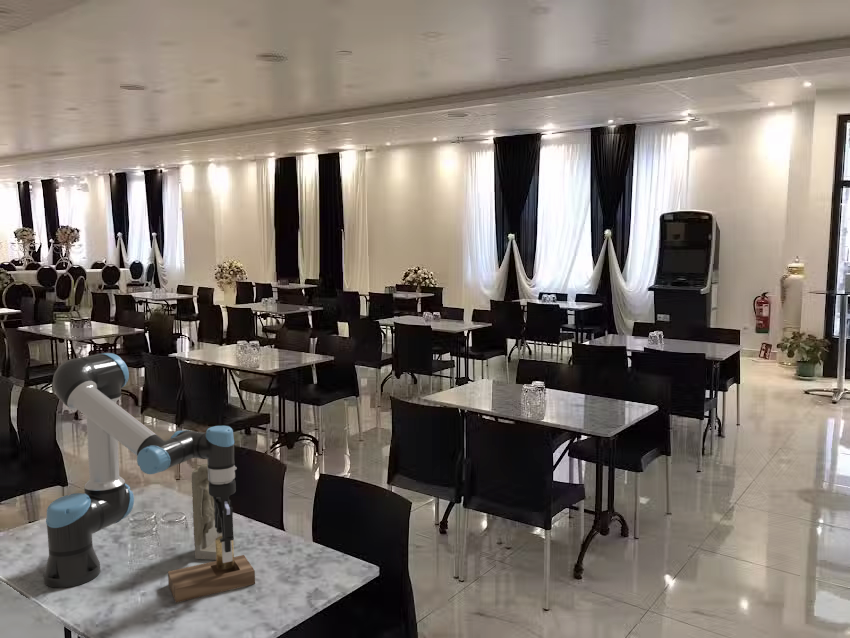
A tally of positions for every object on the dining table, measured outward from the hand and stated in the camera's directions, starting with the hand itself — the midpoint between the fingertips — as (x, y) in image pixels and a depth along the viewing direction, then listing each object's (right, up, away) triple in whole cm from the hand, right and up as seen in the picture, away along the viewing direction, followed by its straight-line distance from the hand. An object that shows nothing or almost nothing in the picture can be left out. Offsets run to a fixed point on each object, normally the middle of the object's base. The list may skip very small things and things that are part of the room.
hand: (225, 557), depth 204 cm
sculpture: (-9, -5, +20) cm, 22 cm away
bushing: (0, -2, 0) cm, 2 cm away
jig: (-4, -7, -1) cm, 8 cm away
